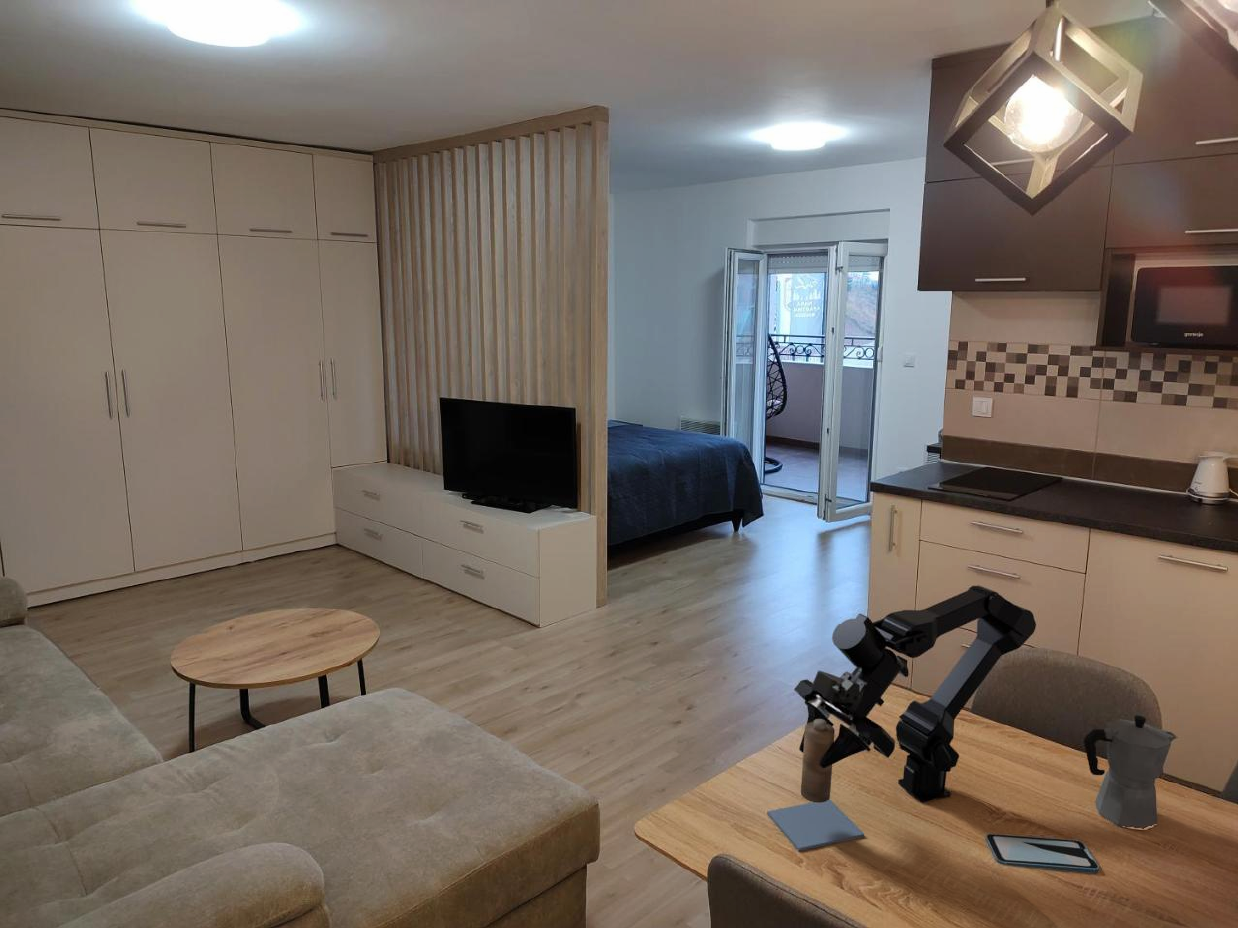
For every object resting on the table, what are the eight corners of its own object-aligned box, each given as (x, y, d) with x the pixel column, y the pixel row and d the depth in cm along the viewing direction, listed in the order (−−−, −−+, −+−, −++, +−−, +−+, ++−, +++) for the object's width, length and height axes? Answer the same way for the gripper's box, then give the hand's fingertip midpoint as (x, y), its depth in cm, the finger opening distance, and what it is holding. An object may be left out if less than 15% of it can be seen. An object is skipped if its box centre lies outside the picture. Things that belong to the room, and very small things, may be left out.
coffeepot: (1145, 798, 148) (1160, 702, 145) (1182, 831, 139) (1199, 730, 135) (1059, 798, 148) (1072, 702, 144) (1090, 832, 138) (1105, 730, 135)
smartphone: (983, 832, 137) (1081, 839, 135) (983, 837, 137) (1081, 845, 135) (997, 862, 130) (1101, 870, 128) (997, 867, 130) (1101, 875, 128)
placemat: (829, 801, 145) (829, 798, 145) (864, 836, 136) (864, 833, 136) (767, 813, 141) (767, 811, 141) (798, 850, 132) (798, 848, 132)
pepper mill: (828, 787, 139) (833, 715, 137) (831, 803, 135) (836, 730, 132) (799, 784, 140) (804, 713, 137) (802, 801, 135) (806, 728, 133)
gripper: (806, 633, 142) (748, 707, 140) (887, 678, 126) (823, 763, 123) (839, 668, 147) (785, 740, 145) (921, 716, 131) (861, 798, 128)
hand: (811, 758), depth 135 cm, fingers closed on pepper mill, 5 cm apart
